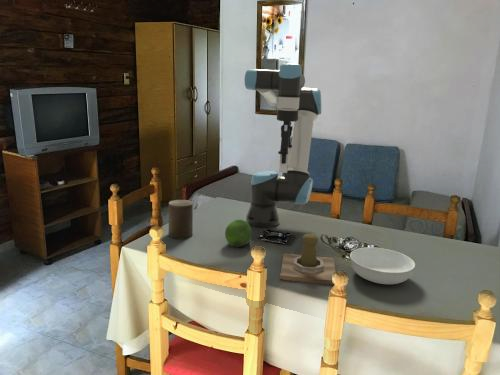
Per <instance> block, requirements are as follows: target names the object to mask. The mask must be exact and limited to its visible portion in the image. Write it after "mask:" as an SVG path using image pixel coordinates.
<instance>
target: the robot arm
mask: <svg viewBox="0 0 500 375" xmlns="http://www.w3.org/2000/svg"><path fill="white" fill-rule="evenodd" d="M305 83H306V78H305V76H304V74H303V73H302V65H301V64H297V63H281V64H280V65H279V69H278V70H277V69H258V68H254V69H247V70H246V71H245V74H244V87H245V89H246V90H250V91H258V93H259V94H260V95H261V96H262V97H264V99H265V101H266V104H268V105H269V106H270V107H272V108H273V109H275V110H277V111H276V120H277V121H279V122H283V124H282V125H281V126H280V138H281V139H280V140H281V141H280V150H279V151H278V152H277V154H279V155H280V156H279V168H278V169H279V170H278V171H276V170H263V171H258V172H255V173H253V174H252V176H251V182H250V205H249V207H248V210H247V213H246V216H245V221H246V222H247V223H248V224H249V225H250V226H252V227H257V228H272V227H276V226H278V225H279V224H280V214H279V212H278V208H277V202H278V203H286V204H287V203H288V204H295V205H306V204H307V203H308V202H309V200H310V196H311V194H312V189H313V185H314V180H313V178H311V174H310V173H309V171H308V169H309V168H308V167H309V159H310V151H311V144H312V135H313V128H314V122H315V121H316V120H317V119H318V116H319V115H321V114H322V94H321V90H320V89H319V88H317V87H316V88H315V87H314V88H313V87H304V86H305ZM292 123H293V125H292ZM291 137H292V138H291ZM279 173H283V175H279Z"/></svg>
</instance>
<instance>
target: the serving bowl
mask: <svg viewBox="0 0 500 375" xmlns="http://www.w3.org/2000/svg"><path fill="white" fill-rule="evenodd" d="M349 261H350V265H351V267H352V270H354V271H353V272H355V273H356V275H358V276H359V277H361V278H362V279H365V280H366V281H369V282H373V283H375V284H380V285H397V284H401V283H403V282H405V281H407V280H409V279H410V278H411V277H412V276H413V273H414V271H415V269H416V263H415V261H414V260H413V259H412V258H411V257H409V256H408V255H406V254H403V253H402V252H399V251H396V250H392V249H388V248H382V247H376V246H375V247H373V246H372V247H371V246H367V247H365V246H364V247H360V248H356V249H353V250H352V251H351V252H350V255H349Z"/></svg>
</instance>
